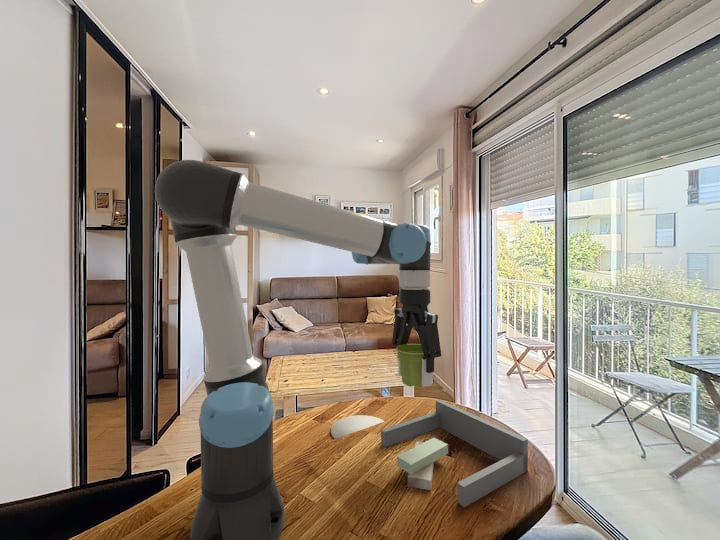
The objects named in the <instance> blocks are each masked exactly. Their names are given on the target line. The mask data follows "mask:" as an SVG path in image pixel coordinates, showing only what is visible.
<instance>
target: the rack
mask: <svg viewBox="0 0 720 540" xmlns="http://www.w3.org/2000/svg"><path fill="white" fill-rule="evenodd" d="M436 429H442V430H444V431H446V432H448V433H449V434H451V435H453V436H455V437H457V438H459V439H461V440H462V441H464V442H465V443H468V444H470V445H471V446H474V447H475V448H477V449H479V450H481V451H483V452H485V453H487V454H488V455H490V456H492V457H494V458H496V459H497V460H498V461H497V462H495V463H493V464H491V465H489V466H486V467H484V468H483V469H481V470H480V471H478V472H475V473H473V474H471V475H469V476H466V478H464V479H461V480H460V481H457V483H456V484H457V488H456V489H457V491H456V492H457V493H456V494H457V497H456V498H457V504H458V505H460V506H461V507H463V508H466V507H468V506H469V505H471V504H473V503H475V502H477V501H479V500H480V499H482V498H483V497H486V495H488V494H491V492H493V491H496V490H497V489H499V488H500V487H502V486H504V485H506V484H507V483H509V482H510V481H512V480H515V479H517V478H518V477H519V476H521V475H523V474H525V473H526V472H528V471H529V457H528V455H529V448H528V447H529V446H528V445H529V441H528V440H529V439H528V438H527V437H524V436H523V435H520V434H517V433H515V432H513V431H510V430H508V429H507V428H504V427H502V426H499V425H498V424H495V423H493V422H490V421H488V420H486V419H484V418H482V417H480V416H477V415H475V414H473V413H470V412H468V411H466V410H464V409H463V408H460V407H457V406H454V405H453V404H451V403H448V402H446V401H444V400H441V399H436V400H435V411H434V412H431V413H427V414H425V415H421V416H418V417H416V418H412V419H409V420H406V421H403V422H400V423H397V424H395V425H391V426H388V427H385V428H382V429H381V430H380V445H381V446H382V447H383V448H388V447H390V446H394V445H396V444H398V443H401V442H403V441H407V440H409V439H412V438H414V437H415V438H416V437H418V436H420V435H423V434H425V433H428V432H431V431H433V430H436Z"/></svg>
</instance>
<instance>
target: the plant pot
mask: <svg viewBox="0 0 720 540" xmlns="http://www.w3.org/2000/svg"><path fill="white" fill-rule="evenodd" d="M395 350H396V352H397V357H398V356H399V359H400V367H401V375H402V376H401V382H402V384H404V385H405V386H407V387H417V388H421V387H423V386H422V357H424V353H423V350H422V346H421V343H407V344H404V345H399V346H397V347H396V346H395ZM428 353H429V352H428Z"/></svg>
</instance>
